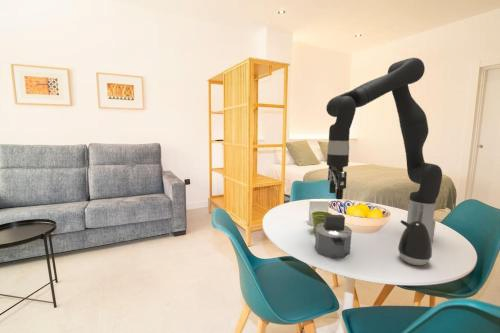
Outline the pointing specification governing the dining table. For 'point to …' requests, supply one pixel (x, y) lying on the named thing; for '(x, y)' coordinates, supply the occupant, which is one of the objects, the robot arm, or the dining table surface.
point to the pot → (332, 246)
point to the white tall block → (317, 208)
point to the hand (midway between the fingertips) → (335, 195)
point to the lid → (334, 227)
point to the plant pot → (319, 217)
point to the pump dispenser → (415, 243)
